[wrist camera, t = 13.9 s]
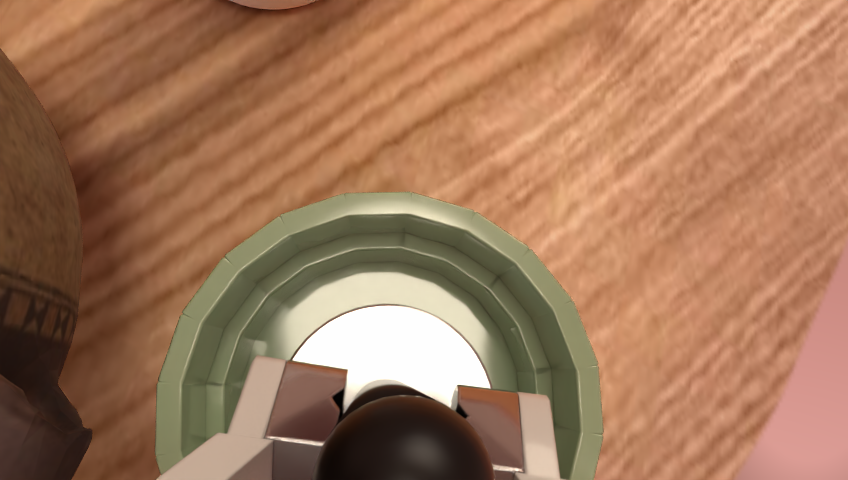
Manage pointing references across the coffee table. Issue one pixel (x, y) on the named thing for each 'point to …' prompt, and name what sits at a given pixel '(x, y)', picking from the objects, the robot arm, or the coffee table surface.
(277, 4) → the cup
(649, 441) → the coffee table surface
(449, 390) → the meat pounder
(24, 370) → the vase
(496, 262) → the bowl
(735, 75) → the coffee table surface
